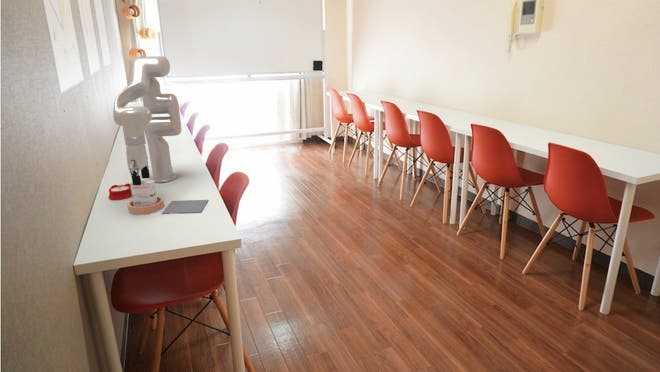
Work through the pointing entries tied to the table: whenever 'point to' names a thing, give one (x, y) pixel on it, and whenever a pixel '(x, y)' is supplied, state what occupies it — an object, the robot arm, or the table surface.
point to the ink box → (144, 194)
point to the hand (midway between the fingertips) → (141, 181)
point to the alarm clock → (120, 192)
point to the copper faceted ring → (146, 209)
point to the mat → (185, 206)
